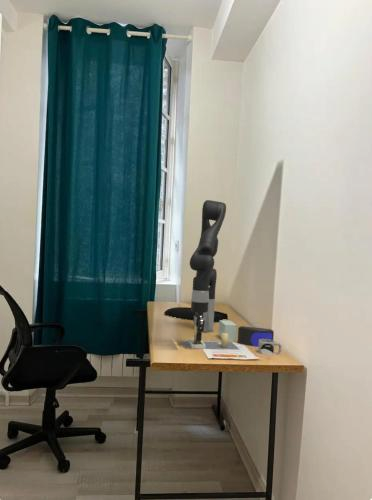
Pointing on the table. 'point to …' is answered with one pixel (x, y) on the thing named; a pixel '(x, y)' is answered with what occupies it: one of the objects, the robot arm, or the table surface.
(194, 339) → the pin
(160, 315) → the table surface
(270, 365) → the table surface
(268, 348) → the mug
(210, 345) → the board
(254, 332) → the leaning round-cornered charcoal block
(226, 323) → the block
